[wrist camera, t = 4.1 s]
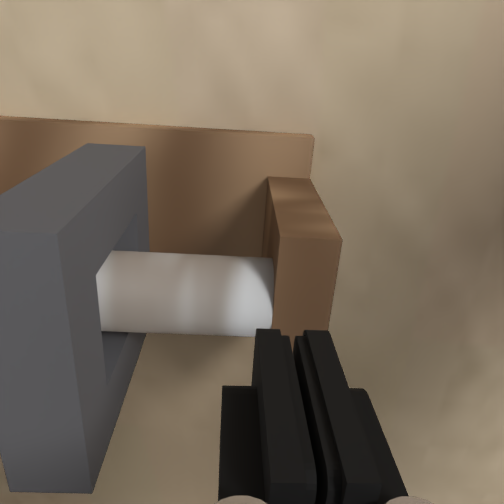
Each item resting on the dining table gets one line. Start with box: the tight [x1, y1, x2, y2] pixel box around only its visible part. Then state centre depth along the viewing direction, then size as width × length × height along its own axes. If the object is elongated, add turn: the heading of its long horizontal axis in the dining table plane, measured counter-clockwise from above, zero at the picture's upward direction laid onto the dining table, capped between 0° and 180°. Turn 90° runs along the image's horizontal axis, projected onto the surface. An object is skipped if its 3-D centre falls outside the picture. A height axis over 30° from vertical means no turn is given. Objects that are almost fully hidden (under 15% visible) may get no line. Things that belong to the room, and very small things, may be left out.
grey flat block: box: [0, 143, 150, 494], centre depth 13 cm, size 2×7×8 cm, turn 176°
